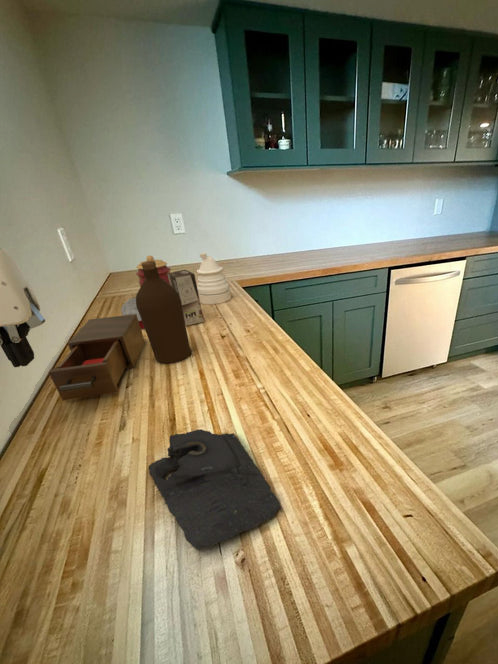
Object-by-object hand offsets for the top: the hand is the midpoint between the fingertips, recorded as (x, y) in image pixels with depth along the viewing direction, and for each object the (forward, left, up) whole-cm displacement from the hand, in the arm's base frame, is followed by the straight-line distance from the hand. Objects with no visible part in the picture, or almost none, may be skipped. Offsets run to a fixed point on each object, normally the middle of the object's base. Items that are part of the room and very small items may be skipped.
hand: (24, 362), depth 54 cm
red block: (0, +21, -15) cm, 26 cm away
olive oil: (+16, +32, -17) cm, 40 cm away
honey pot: (+27, +81, -17) cm, 87 cm away
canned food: (+2, +61, -17) cm, 63 cm away
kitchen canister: (+5, +88, -17) cm, 90 cm away
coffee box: (+19, +59, -17) cm, 64 cm away
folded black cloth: (+27, -18, -17) cm, 37 cm away
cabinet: (0, +36, -17) cm, 40 cm away
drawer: (0, +20, -16) cm, 26 cm away
